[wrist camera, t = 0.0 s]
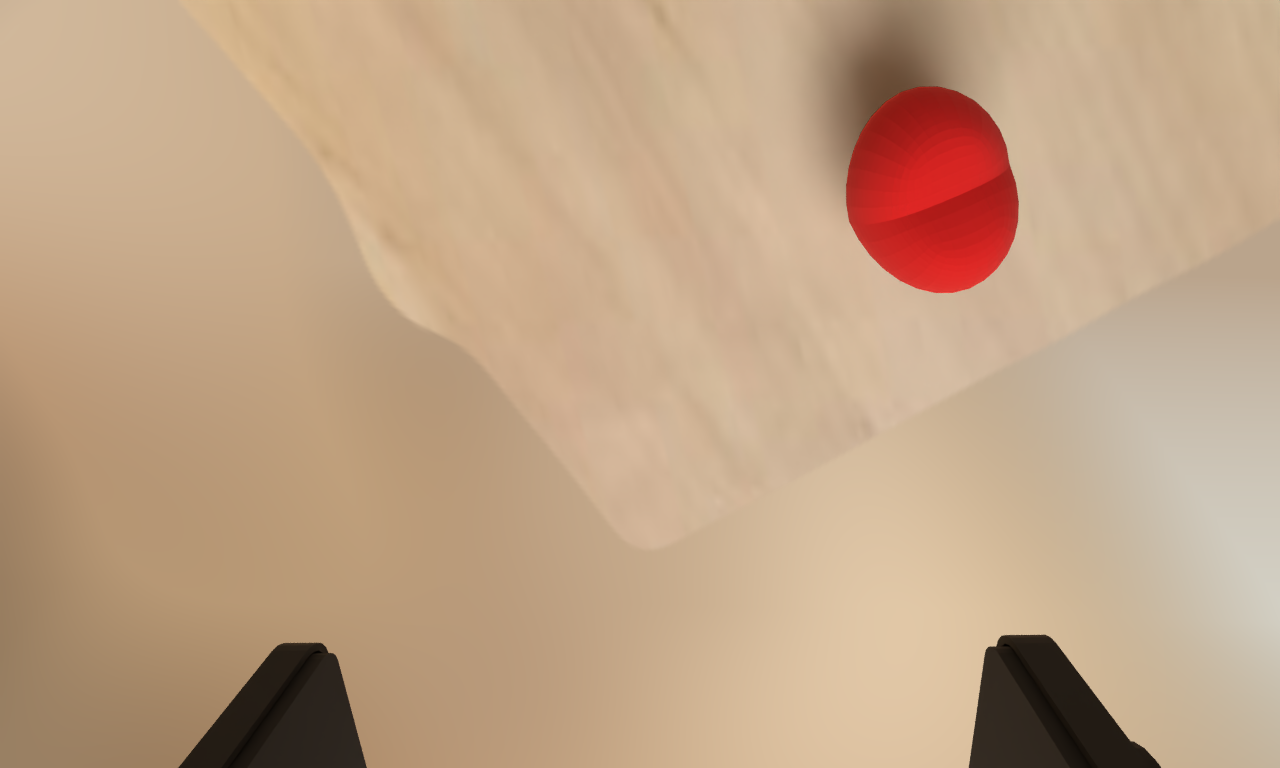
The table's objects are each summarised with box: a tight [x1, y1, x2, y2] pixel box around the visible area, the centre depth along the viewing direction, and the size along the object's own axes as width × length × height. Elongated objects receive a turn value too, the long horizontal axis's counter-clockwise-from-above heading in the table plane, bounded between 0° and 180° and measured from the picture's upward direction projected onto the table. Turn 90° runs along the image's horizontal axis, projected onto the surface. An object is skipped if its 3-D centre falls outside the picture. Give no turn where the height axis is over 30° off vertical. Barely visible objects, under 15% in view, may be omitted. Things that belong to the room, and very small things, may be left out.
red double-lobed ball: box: [846, 87, 1019, 293], centre depth 32 cm, size 9×7×10 cm
